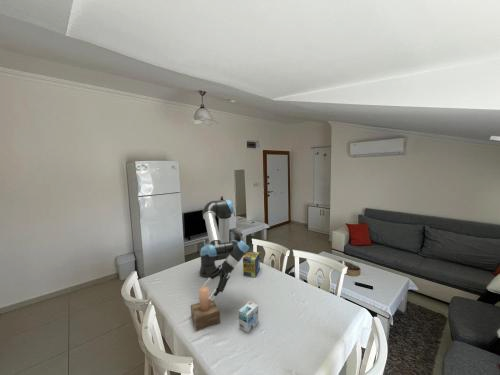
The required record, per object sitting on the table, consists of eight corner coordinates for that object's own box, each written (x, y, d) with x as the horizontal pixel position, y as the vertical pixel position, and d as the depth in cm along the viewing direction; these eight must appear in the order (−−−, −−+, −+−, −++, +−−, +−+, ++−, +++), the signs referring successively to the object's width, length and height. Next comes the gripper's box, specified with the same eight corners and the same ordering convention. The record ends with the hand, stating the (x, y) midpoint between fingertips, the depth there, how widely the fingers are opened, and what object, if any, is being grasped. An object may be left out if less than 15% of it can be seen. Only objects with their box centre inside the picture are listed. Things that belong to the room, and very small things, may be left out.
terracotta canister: (198, 306, 132) (197, 287, 131) (208, 303, 135) (207, 285, 133) (201, 312, 126) (200, 293, 125) (211, 309, 129) (210, 290, 128)
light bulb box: (248, 333, 119) (247, 315, 118) (238, 328, 123) (238, 310, 122) (259, 322, 128) (258, 304, 126) (250, 317, 132) (249, 300, 131)
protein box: (243, 276, 180) (242, 258, 178) (248, 267, 194) (248, 250, 193) (255, 277, 177) (254, 259, 175) (260, 269, 191) (259, 252, 190)
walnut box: (191, 315, 134) (190, 304, 134) (213, 308, 141) (212, 298, 140) (196, 330, 122) (195, 319, 121) (220, 322, 128) (219, 311, 127)
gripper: (242, 276, 125) (218, 308, 120) (227, 258, 147) (206, 285, 142) (233, 269, 122) (208, 302, 117) (219, 253, 144) (197, 280, 139)
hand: (207, 293), depth 130 cm, fingers open, 13 cm apart
